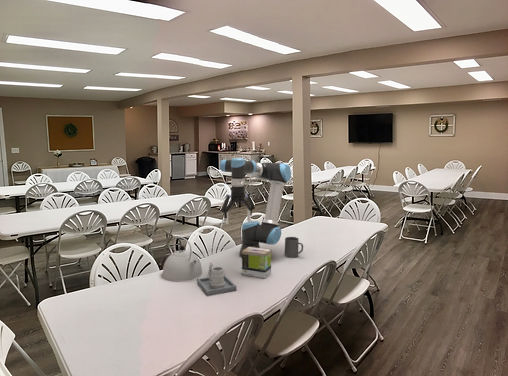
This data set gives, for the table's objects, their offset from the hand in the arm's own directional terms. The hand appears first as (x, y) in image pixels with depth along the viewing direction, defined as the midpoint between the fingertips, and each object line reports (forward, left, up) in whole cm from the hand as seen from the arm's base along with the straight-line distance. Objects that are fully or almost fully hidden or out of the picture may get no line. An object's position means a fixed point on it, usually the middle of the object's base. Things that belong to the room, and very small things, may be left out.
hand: (238, 222), depth 218 cm
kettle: (-15, -28, -32) cm, 45 cm away
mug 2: (-16, +48, -32) cm, 60 cm away
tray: (+10, -17, -32) cm, 37 cm away
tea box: (+2, +11, -32) cm, 34 cm away
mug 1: (+10, -18, -31) cm, 37 cm away
